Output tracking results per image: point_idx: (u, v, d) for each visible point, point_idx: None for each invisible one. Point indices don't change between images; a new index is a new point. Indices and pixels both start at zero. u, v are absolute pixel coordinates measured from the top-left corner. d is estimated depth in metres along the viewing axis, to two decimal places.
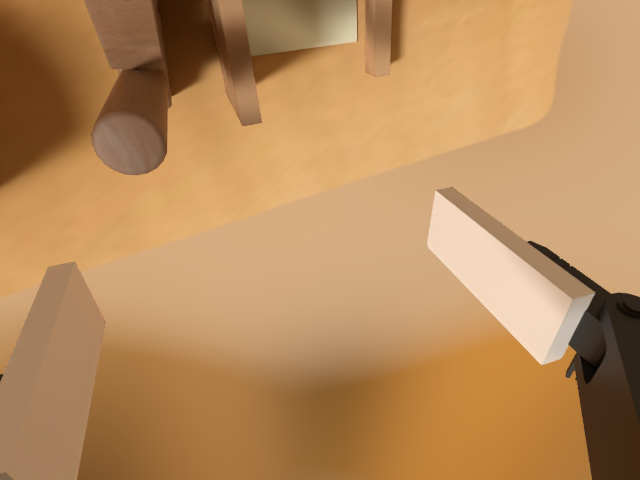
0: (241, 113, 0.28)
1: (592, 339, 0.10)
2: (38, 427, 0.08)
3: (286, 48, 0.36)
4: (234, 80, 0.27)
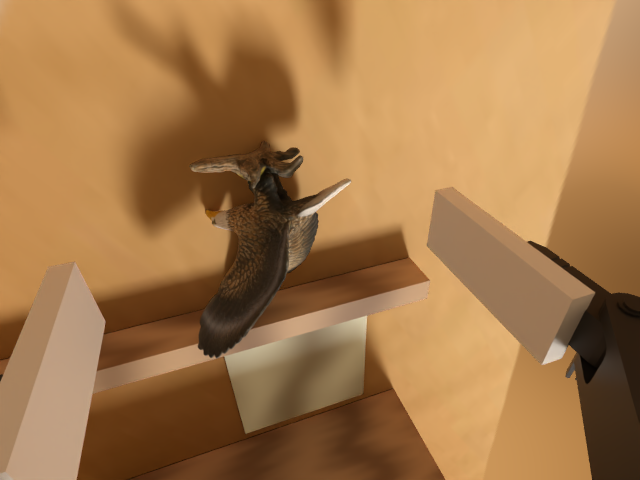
0: None
1: (592, 339, 0.10)
2: (38, 427, 0.08)
3: (361, 363, 0.30)
4: None
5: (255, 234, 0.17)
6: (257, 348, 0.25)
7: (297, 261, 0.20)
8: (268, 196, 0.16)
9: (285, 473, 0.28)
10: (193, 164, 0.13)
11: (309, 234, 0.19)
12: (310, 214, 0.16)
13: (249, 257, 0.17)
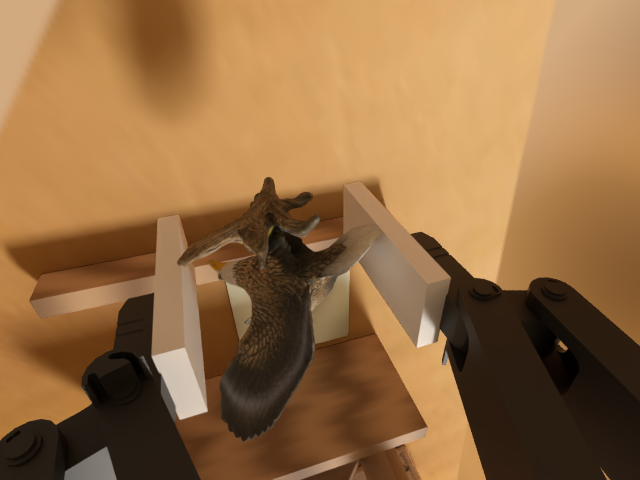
0: (414, 439, 0.31)
1: (456, 328, 0.11)
2: (188, 328, 0.10)
3: (346, 306, 0.35)
4: (388, 448, 0.30)
5: (270, 297, 0.14)
6: None
7: (321, 301, 0.18)
8: (281, 259, 0.13)
9: None
10: (181, 261, 0.10)
11: (332, 275, 0.16)
12: None
13: (266, 320, 0.15)
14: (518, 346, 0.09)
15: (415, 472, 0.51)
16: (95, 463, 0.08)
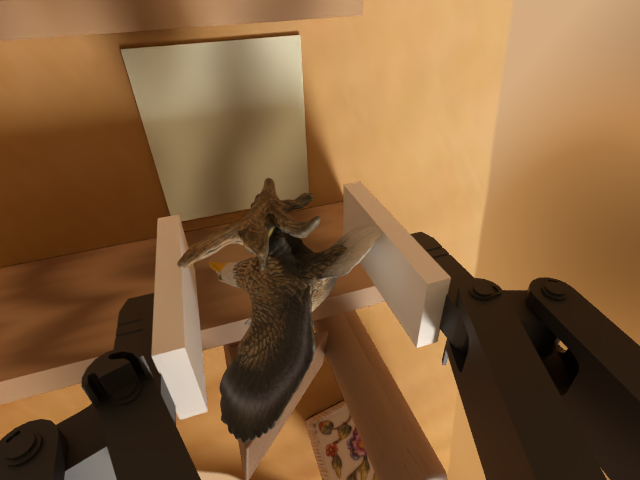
0: None
1: (456, 328, 0.11)
2: (188, 327, 0.10)
3: (303, 148, 0.27)
4: (354, 308, 0.23)
5: (270, 299, 0.14)
6: (171, 81, 0.22)
7: (321, 302, 0.18)
8: (281, 260, 0.13)
9: (212, 255, 0.25)
10: (181, 262, 0.10)
11: None
12: None
13: (266, 321, 0.15)
14: (518, 346, 0.09)
15: None
16: (95, 463, 0.08)
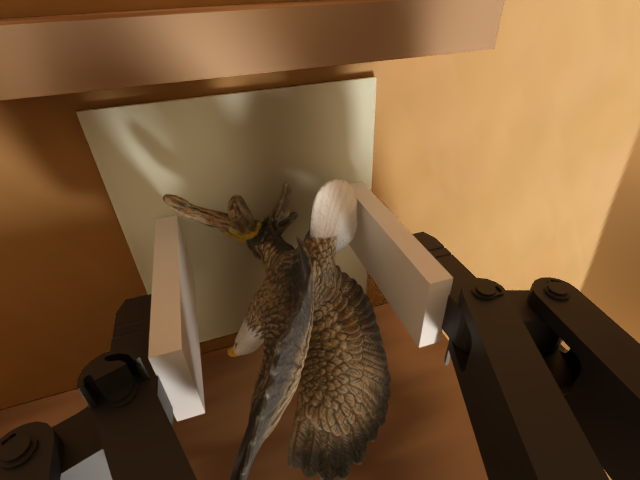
0: None
1: (458, 327, 0.11)
2: (185, 329, 0.10)
3: None
4: None
5: (275, 296, 0.12)
6: (166, 158, 0.13)
7: (371, 363, 0.13)
8: (272, 242, 0.13)
9: (232, 412, 0.16)
10: None
11: (362, 309, 0.14)
12: (328, 237, 0.13)
13: (278, 332, 0.12)
14: (521, 346, 0.09)
15: None
16: (91, 465, 0.08)
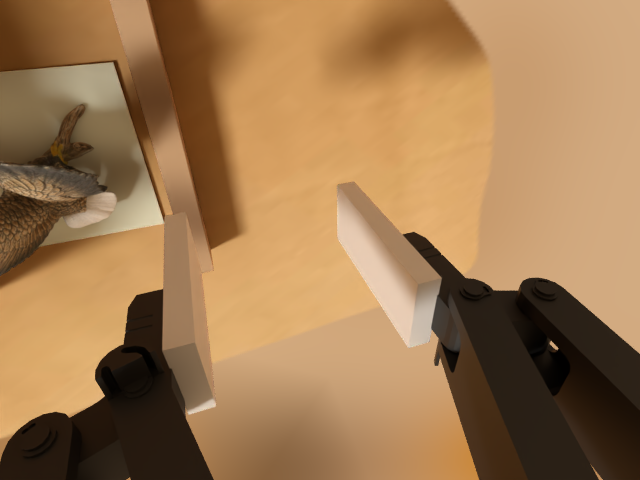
0: None
1: (447, 328, 0.11)
2: (197, 323, 0.10)
3: (45, 241, 0.24)
4: None
5: None
6: (89, 108, 0.21)
7: (9, 258, 0.18)
8: None
9: None
10: (84, 106, 0.21)
11: (38, 243, 0.19)
12: (86, 206, 0.21)
13: None
14: (509, 345, 0.09)
15: None
16: (108, 455, 0.08)
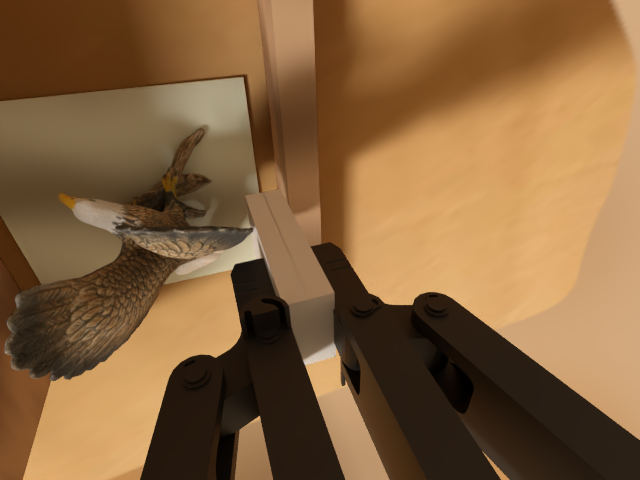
0: None
1: (346, 349, 0.10)
2: None
3: None
4: None
5: (170, 224, 0.15)
6: (208, 132, 0.17)
7: (132, 328, 0.14)
8: (183, 212, 0.17)
9: None
10: (203, 130, 0.17)
11: (153, 302, 0.16)
12: None
13: None
14: (405, 359, 0.09)
15: None
16: (249, 392, 0.09)
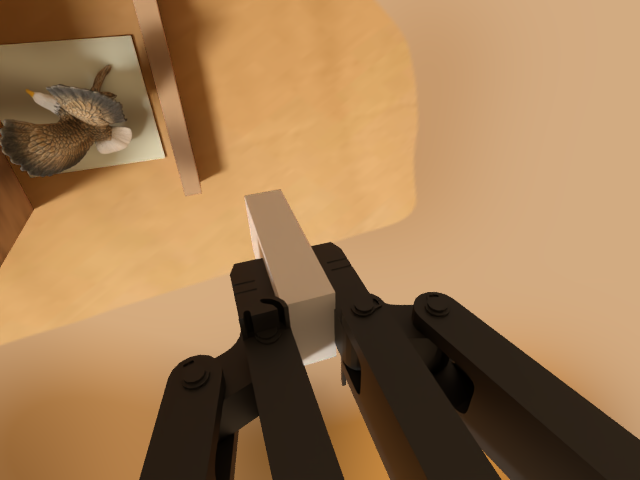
0: None
1: (346, 348, 0.10)
2: None
3: (79, 167, 0.33)
4: None
5: None
6: (114, 68, 0.30)
7: (64, 160, 0.27)
8: None
9: None
10: (110, 66, 0.30)
11: (80, 156, 0.29)
12: (111, 135, 0.30)
13: None
14: (405, 359, 0.09)
15: None
16: (248, 393, 0.09)
